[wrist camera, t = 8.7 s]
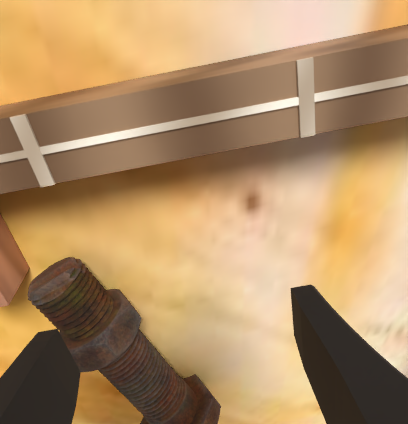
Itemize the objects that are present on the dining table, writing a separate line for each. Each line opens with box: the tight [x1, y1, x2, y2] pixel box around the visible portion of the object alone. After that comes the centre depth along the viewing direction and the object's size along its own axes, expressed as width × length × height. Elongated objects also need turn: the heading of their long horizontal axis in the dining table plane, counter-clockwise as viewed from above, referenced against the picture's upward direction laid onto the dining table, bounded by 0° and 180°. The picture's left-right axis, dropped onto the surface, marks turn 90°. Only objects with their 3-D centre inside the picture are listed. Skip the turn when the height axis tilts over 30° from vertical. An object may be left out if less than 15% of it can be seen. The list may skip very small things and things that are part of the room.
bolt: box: [28, 257, 221, 424], centre depth 23 cm, size 6×5×15 cm
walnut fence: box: [0, 25, 408, 307], centre depth 17 cm, size 26×9×3 cm, turn 100°
